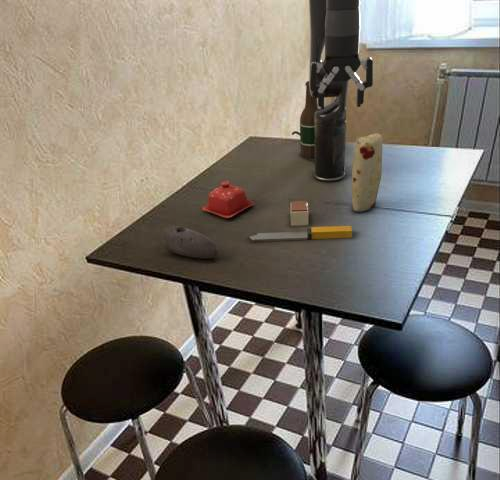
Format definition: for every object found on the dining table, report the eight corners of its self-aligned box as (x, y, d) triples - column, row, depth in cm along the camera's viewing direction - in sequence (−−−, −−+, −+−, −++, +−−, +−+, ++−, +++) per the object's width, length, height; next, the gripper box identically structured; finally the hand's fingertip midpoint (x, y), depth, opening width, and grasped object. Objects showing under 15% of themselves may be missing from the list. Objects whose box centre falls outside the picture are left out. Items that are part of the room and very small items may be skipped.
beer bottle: (299, 159, 168) (297, 85, 154) (301, 150, 174) (300, 79, 160) (322, 158, 166) (322, 83, 152) (323, 150, 173) (324, 77, 158)
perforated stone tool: (224, 256, 120) (221, 231, 116) (212, 267, 117) (208, 242, 113) (176, 244, 127) (171, 220, 123) (163, 254, 124) (158, 230, 119)
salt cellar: (291, 225, 130) (290, 210, 127) (291, 216, 135) (290, 201, 132) (308, 225, 130) (308, 209, 127) (307, 215, 134) (307, 200, 132)
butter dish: (200, 212, 141) (196, 184, 136) (228, 197, 148) (225, 170, 143) (228, 222, 134) (225, 194, 129) (256, 207, 141) (254, 179, 136)
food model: (365, 217, 131) (369, 143, 119) (344, 211, 134) (346, 138, 123) (384, 203, 136) (390, 131, 124) (363, 198, 140) (367, 127, 128)
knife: (249, 242, 125) (248, 235, 124) (250, 235, 128) (249, 228, 127) (352, 238, 122) (352, 231, 121) (350, 232, 125) (351, 225, 124)
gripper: (373, 26, 110) (368, 101, 120) (309, 31, 111) (309, 104, 121) (377, 31, 104) (372, 110, 114) (310, 37, 105) (310, 114, 115)
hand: (340, 107), depth 117 cm, fingers open, 8 cm apart
